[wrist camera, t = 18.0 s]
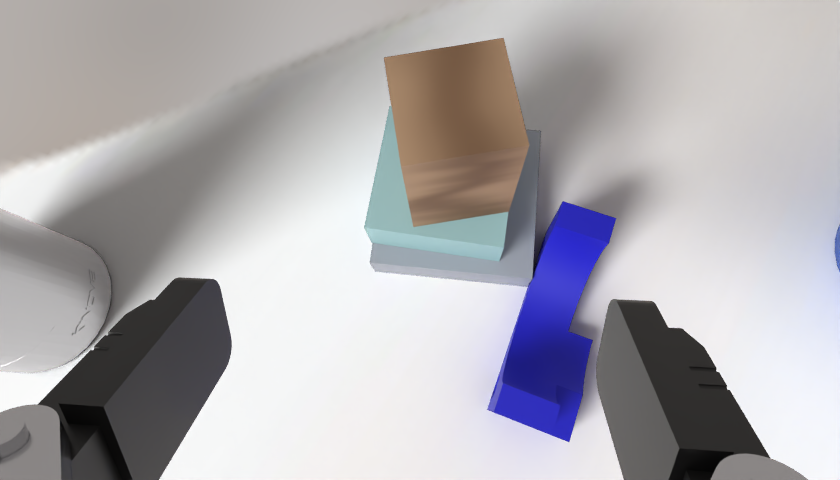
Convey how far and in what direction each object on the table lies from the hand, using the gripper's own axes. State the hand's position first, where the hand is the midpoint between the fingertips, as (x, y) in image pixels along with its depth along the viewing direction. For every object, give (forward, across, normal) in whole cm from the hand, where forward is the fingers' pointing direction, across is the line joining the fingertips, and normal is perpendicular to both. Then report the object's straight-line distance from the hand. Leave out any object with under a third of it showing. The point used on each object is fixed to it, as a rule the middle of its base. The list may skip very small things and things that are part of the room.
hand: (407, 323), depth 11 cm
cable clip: (+18, -7, +14) cm, 24 cm away
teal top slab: (+22, 0, +6) cm, 23 cm away
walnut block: (+20, 0, +4) cm, 21 cm away
